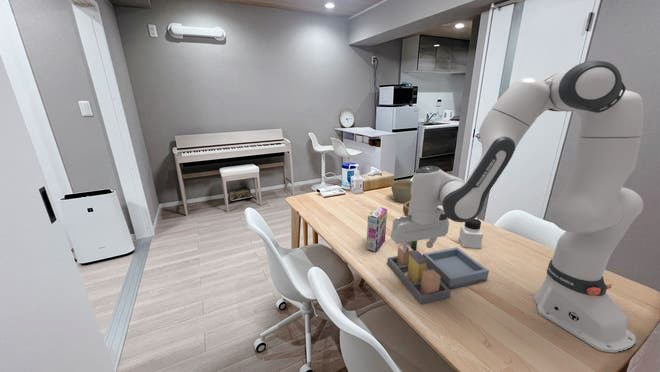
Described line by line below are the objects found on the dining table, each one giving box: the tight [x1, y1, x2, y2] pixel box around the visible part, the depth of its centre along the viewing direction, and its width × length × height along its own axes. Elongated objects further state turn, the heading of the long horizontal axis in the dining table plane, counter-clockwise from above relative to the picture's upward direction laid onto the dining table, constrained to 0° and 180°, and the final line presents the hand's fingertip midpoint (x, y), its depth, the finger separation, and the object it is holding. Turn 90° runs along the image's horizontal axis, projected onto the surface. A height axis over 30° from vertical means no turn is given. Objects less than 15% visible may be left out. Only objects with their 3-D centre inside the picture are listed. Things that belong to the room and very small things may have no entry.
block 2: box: [419, 269, 441, 295], centre depth 88 cm, size 4×4×8 cm
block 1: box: [396, 245, 413, 266], centre depth 102 cm, size 4×4×8 cm
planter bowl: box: [390, 179, 412, 204], centre depth 166 cm, size 16×16×11 cm
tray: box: [422, 247, 490, 290], centre depth 100 cm, size 16×16×4 cm
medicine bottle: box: [458, 217, 484, 250], centre depth 116 cm, size 7×7×12 cm
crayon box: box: [405, 241, 418, 251], centre depth 114 cm, size 7×3×12 cm, turn 12°
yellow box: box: [407, 249, 427, 283], centre depth 95 cm, size 6×3×10 cm, turn 15°
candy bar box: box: [366, 206, 388, 253], centre depth 116 cm, size 11×5×16 cm, turn 149°
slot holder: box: [386, 255, 452, 305], centre depth 96 cm, size 23×11×2 cm, turn 15°
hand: (417, 249), depth 93 cm, fingers open, 8 cm apart
